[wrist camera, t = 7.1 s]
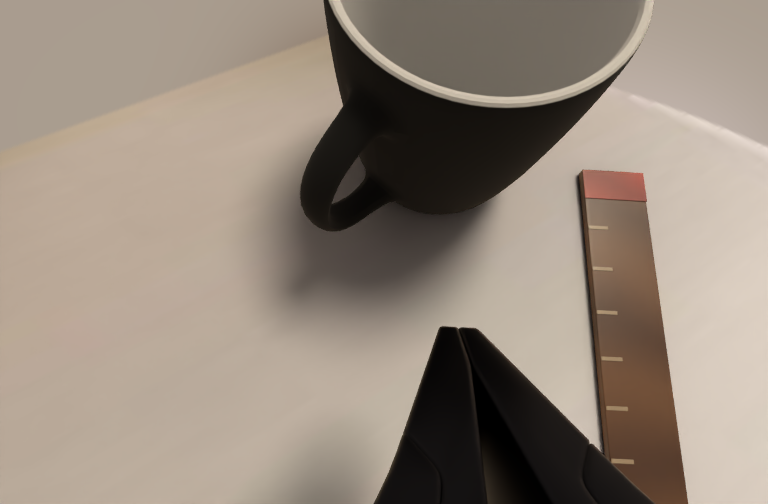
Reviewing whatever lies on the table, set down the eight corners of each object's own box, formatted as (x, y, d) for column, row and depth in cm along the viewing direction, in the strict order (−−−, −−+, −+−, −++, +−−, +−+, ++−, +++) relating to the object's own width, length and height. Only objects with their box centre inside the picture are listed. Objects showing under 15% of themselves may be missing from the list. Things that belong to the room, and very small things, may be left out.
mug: (426, 51, 22) (469, -196, 13) (557, 154, 21) (722, -36, 11) (260, 196, 20) (151, 25, 10) (396, 327, 18) (427, 276, 8)
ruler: (687, 546, 16) (696, 551, 16) (612, 542, 16) (618, 547, 16) (637, 177, 21) (643, 173, 20) (578, 173, 21) (582, 169, 20)
